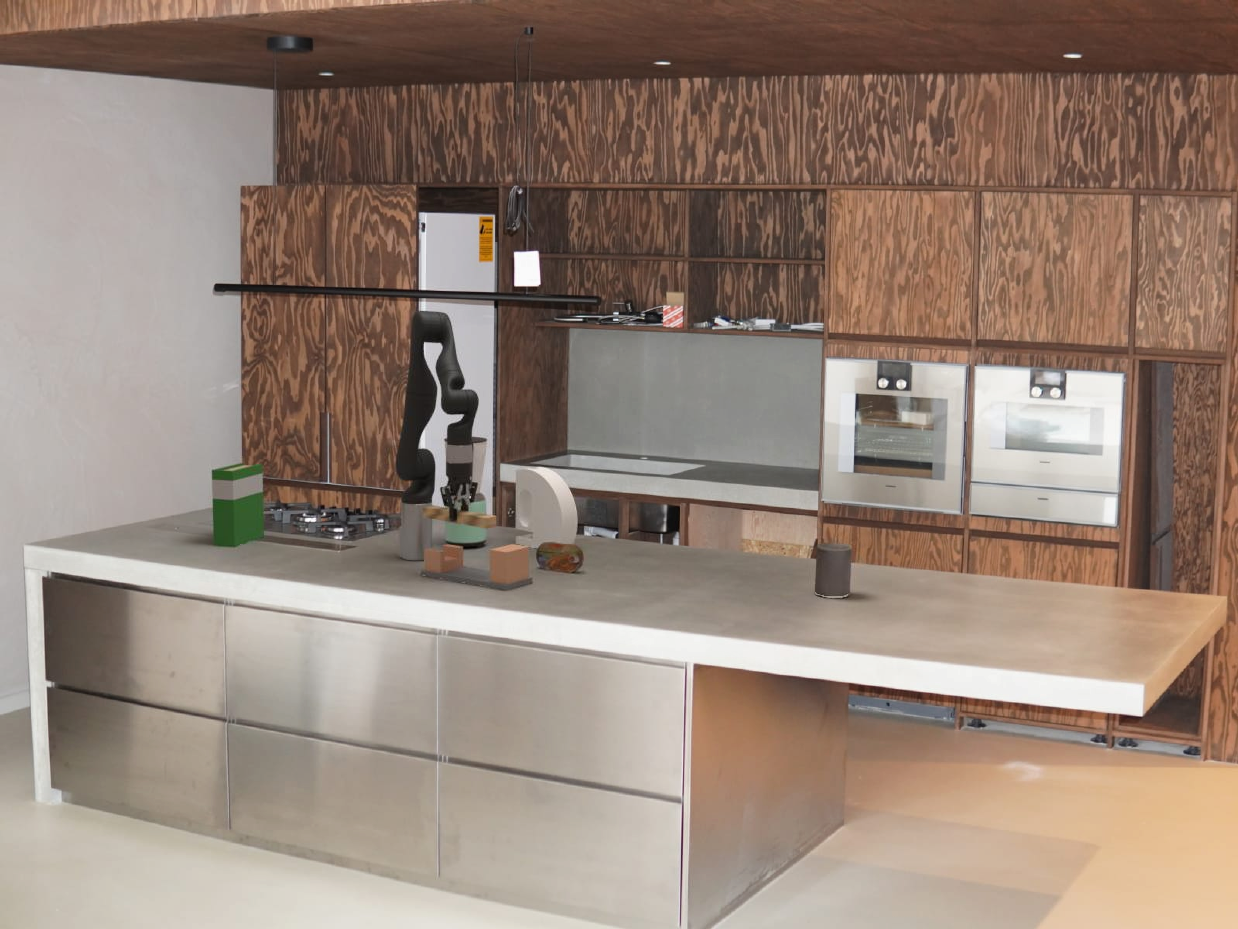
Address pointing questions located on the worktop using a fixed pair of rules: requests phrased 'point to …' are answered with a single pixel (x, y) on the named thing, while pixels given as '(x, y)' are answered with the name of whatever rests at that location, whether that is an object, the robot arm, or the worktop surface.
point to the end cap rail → (504, 569)
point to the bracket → (544, 508)
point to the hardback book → (237, 504)
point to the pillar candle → (833, 569)
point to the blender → (466, 533)
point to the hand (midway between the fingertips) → (458, 519)
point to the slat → (460, 517)
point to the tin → (559, 557)
